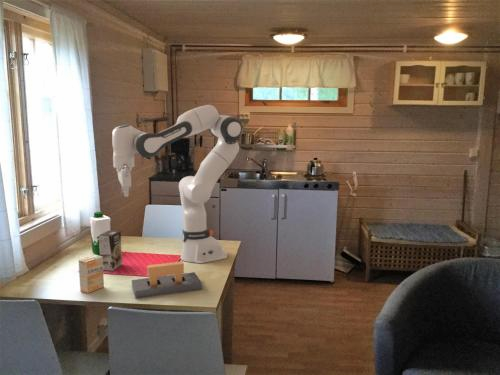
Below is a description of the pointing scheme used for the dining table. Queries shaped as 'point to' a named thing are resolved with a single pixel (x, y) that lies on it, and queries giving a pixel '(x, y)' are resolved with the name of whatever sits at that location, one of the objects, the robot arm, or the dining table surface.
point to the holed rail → (166, 285)
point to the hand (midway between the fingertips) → (125, 194)
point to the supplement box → (91, 273)
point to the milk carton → (98, 229)
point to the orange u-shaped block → (165, 271)
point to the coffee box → (110, 249)
